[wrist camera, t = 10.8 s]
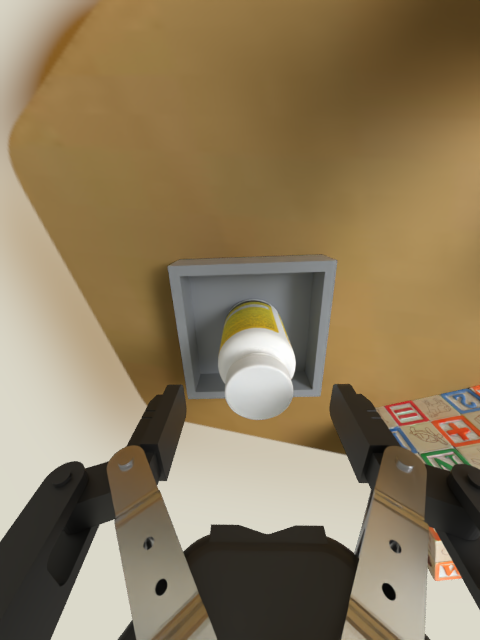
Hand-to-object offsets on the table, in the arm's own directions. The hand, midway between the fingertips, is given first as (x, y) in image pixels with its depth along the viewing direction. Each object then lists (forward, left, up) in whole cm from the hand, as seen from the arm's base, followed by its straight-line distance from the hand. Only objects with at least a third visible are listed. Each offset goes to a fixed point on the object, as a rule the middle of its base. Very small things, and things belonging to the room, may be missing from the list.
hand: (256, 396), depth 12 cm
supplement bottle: (0, 0, -11) cm, 11 cm away
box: (0, 0, -11) cm, 11 cm away
